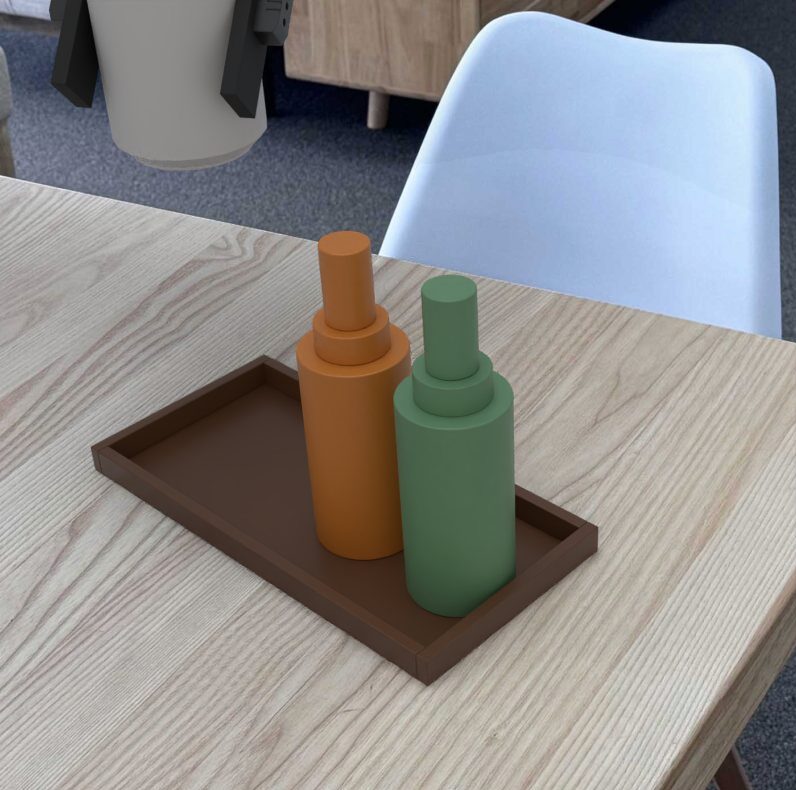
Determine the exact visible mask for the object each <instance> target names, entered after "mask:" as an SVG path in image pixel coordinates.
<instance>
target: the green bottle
mask: <svg viewBox="0 0 796 790" xmlns="http://www.w3.org/2000/svg"><path fill="white" fill-rule="evenodd" d="M420 300H421V319H422V335H423V338H422V340H423V352H422V353H421V354H419V355H418V356H417V357H416V358H415V359H414V361H413V363H412V364H411V367H412V374H411V375H409V376H408V377H406V378H405V379H404V380H403V381H402V382H401V383H400V384H399V385H398V387H397V388H396V390H395V393H394V397H393V404H394V418H395V432H396V446H397V460H398V474H399V488H400V502H401V517H402V531H403V545H404V559H405V573H406V585H407V590H408V592H409V594H410V596H411V598H412V599H413V600H414V601H415V602H416V603H417V604H418V605H419V606H420V607H422V608H423V609H425V610H427V611H429V612H431V613H434V614H437V615H441V616H446V617H454V618H464V617H466V616H467V615H468V614H469V613H471V612H472V611H473V610H475V609H476V608H477V607H478V606H480V605H481V604H482V603H484V602H485V601H486V600H487V599H489V598H490V597H491V596H493V595H494V594H495V593H497V592H498V591H499V590H500V589H502V588H503V587H504V586H506V585H507V584H508V583H509V582H511V581H512V580H513V579H515V578H516V544H515V484H516V483H515V481H516V480H515V479H516V478H515V475H516V473H515V407H514V406H515V405H514V404H515V401H514V395H515V393H514V390H513V387H512V385H511V384H510V382H509V381H508V380H507V379H506V378H505V377H504V376H503V375H501V374H500V373H498V372H497V371H494V365H493V362H492V359H491V358H490V357H489V355H487V354H486V353H484V352H483V351H481V350H480V344H479V343H480V340H479V308H478V307H479V306H478V304H479V303H478V286H477V284H476V282H475V281H474V280H473V279H471V278H470V277H468V276H465V275H460V274H441V275H436V276H433V277H431V278H429V279H427V280H426V281H424V283H423V284H422V285H421V287H420Z"/></svg>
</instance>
